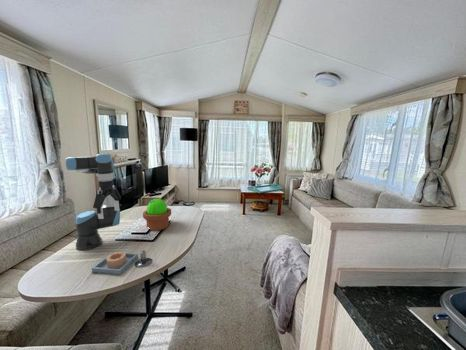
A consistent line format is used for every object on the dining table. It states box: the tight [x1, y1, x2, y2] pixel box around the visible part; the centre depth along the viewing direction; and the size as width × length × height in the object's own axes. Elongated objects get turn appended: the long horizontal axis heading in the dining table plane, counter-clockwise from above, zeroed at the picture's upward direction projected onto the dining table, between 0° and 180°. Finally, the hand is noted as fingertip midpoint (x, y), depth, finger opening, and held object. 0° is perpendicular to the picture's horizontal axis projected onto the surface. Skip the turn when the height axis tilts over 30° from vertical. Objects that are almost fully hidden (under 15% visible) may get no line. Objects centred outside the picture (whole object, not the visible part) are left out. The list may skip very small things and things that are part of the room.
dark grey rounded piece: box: [134, 250, 153, 269], centre depth 125 cm, size 10×10×8 cm
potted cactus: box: [142, 198, 172, 231], centre depth 175 cm, size 22×22×25 cm
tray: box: [91, 251, 139, 276], centre depth 123 cm, size 17×17×3 cm
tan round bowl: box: [106, 251, 126, 269], centre depth 123 cm, size 10×10×5 cm
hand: (109, 214), depth 126 cm, fingers open, 13 cm apart
